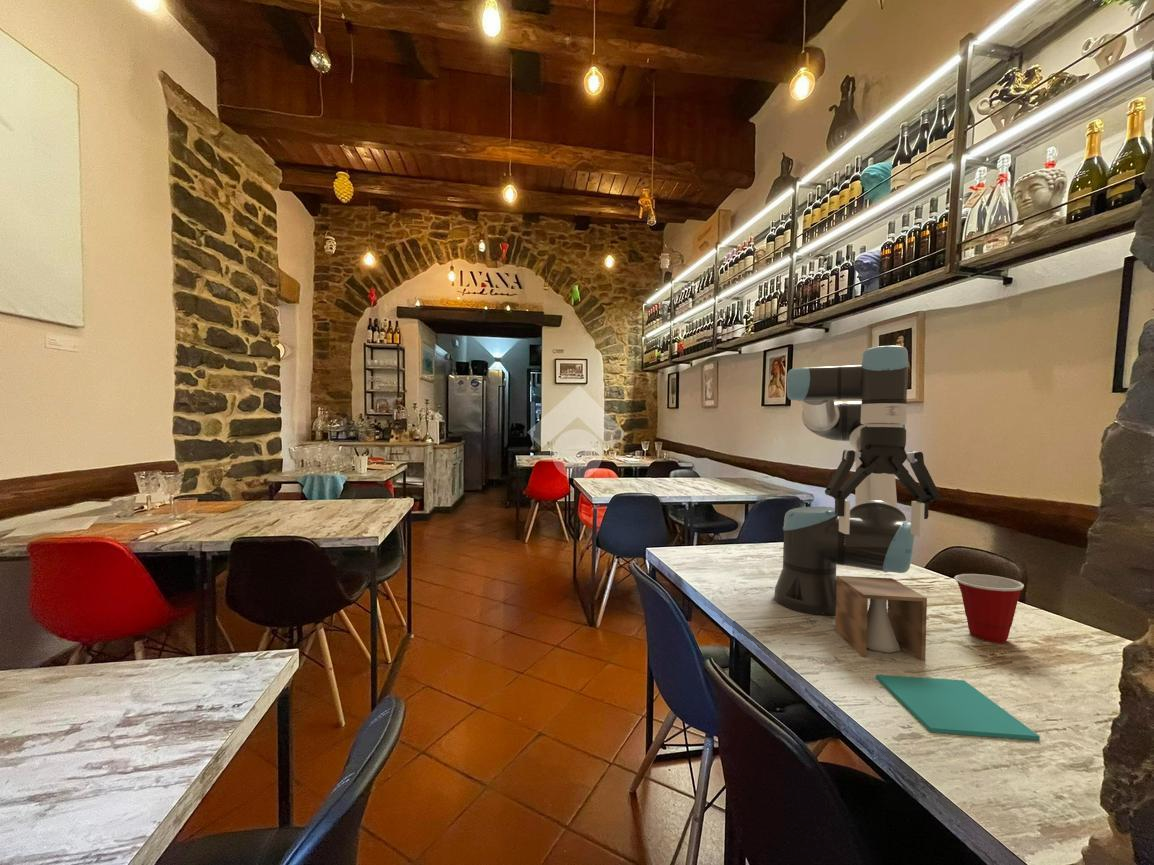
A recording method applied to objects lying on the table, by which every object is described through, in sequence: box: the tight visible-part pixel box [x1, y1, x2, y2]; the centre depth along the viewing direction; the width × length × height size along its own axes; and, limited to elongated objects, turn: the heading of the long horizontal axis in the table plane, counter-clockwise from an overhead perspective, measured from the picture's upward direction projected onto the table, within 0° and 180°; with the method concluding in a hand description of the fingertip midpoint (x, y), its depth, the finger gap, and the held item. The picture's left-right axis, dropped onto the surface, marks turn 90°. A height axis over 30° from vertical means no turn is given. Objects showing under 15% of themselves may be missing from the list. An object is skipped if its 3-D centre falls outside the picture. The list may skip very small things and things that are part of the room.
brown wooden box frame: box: [834, 575, 928, 662], centre depth 91 cm, size 11×11×12 cm
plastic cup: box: [953, 573, 1025, 644], centre depth 95 cm, size 11×11×12 cm
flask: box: [867, 599, 901, 654], centre depth 91 cm, size 7×7×10 cm
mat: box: [875, 674, 1041, 741], centre depth 71 cm, size 14×14×1 cm
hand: (880, 534), depth 90 cm, fingers open, 13 cm apart
